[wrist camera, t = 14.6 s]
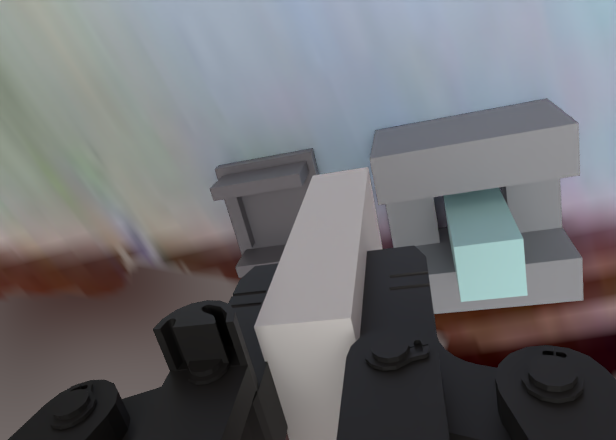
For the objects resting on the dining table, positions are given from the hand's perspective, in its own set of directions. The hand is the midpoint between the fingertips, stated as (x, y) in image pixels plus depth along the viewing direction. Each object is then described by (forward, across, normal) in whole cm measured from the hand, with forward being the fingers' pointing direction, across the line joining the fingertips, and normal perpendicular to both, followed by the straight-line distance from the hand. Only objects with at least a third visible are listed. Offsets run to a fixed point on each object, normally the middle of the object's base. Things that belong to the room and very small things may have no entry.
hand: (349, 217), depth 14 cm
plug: (+25, +5, -10) cm, 27 cm away
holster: (+25, -10, -10) cm, 28 cm away
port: (+25, +6, -10) cm, 27 cm away
